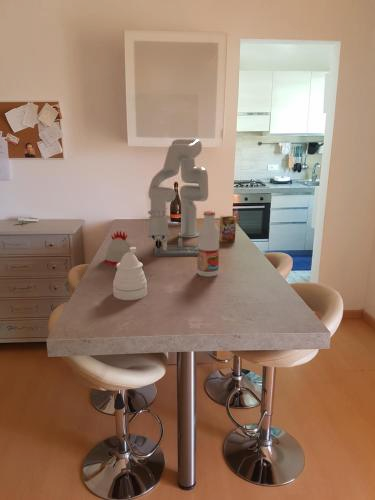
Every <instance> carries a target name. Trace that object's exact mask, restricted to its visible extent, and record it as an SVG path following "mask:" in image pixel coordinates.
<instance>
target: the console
mask: <svg viewBox="0 0 375 500" xmlns="http://www.w3.org/2000/svg"><path fill="white" fill-rule="evenodd" d="M194 256H195V257H198V244H195V243H194V244H182V247H179V246H178V244H167V250H163V244H161V247H160V248H159V243H158V248H157V247H156V244H155V245H154V257H194Z"/></svg>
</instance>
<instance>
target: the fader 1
mask: <svg viewBox="0 0 375 500" xmlns="http://www.w3.org/2000/svg"><path fill="white" fill-rule="evenodd" d="M162 245H163V250H167V245H168V241H166V239H163V240H162Z"/></svg>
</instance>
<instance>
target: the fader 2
mask: <svg viewBox="0 0 375 500" xmlns="http://www.w3.org/2000/svg"><path fill="white" fill-rule="evenodd" d="M177 240H178V243H177V245H178V246H179V247H182V245H183V237H181V236H179V237H178V239H177Z"/></svg>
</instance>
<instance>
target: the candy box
mask: <svg viewBox="0 0 375 500" xmlns="http://www.w3.org/2000/svg"><path fill="white" fill-rule="evenodd" d="M219 219H220V220H219V237H218V241H219V243H223V242H224V243H228V242H230V243H231V242H233V243H234V242H235V243H236V231H237V230H236V228H237V216H236V215H220V218H219Z"/></svg>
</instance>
